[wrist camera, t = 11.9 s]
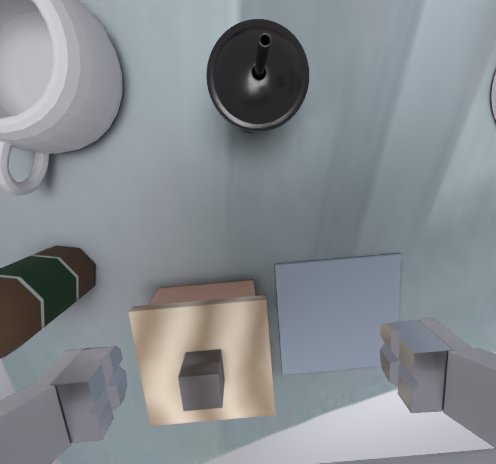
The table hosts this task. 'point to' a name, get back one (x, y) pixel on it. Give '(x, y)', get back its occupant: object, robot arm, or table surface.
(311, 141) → the table surface
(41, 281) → the beer bottle
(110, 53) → the mug
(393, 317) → the slate mat
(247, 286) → the open square planter box
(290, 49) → the drinking cup
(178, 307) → the birch lid
